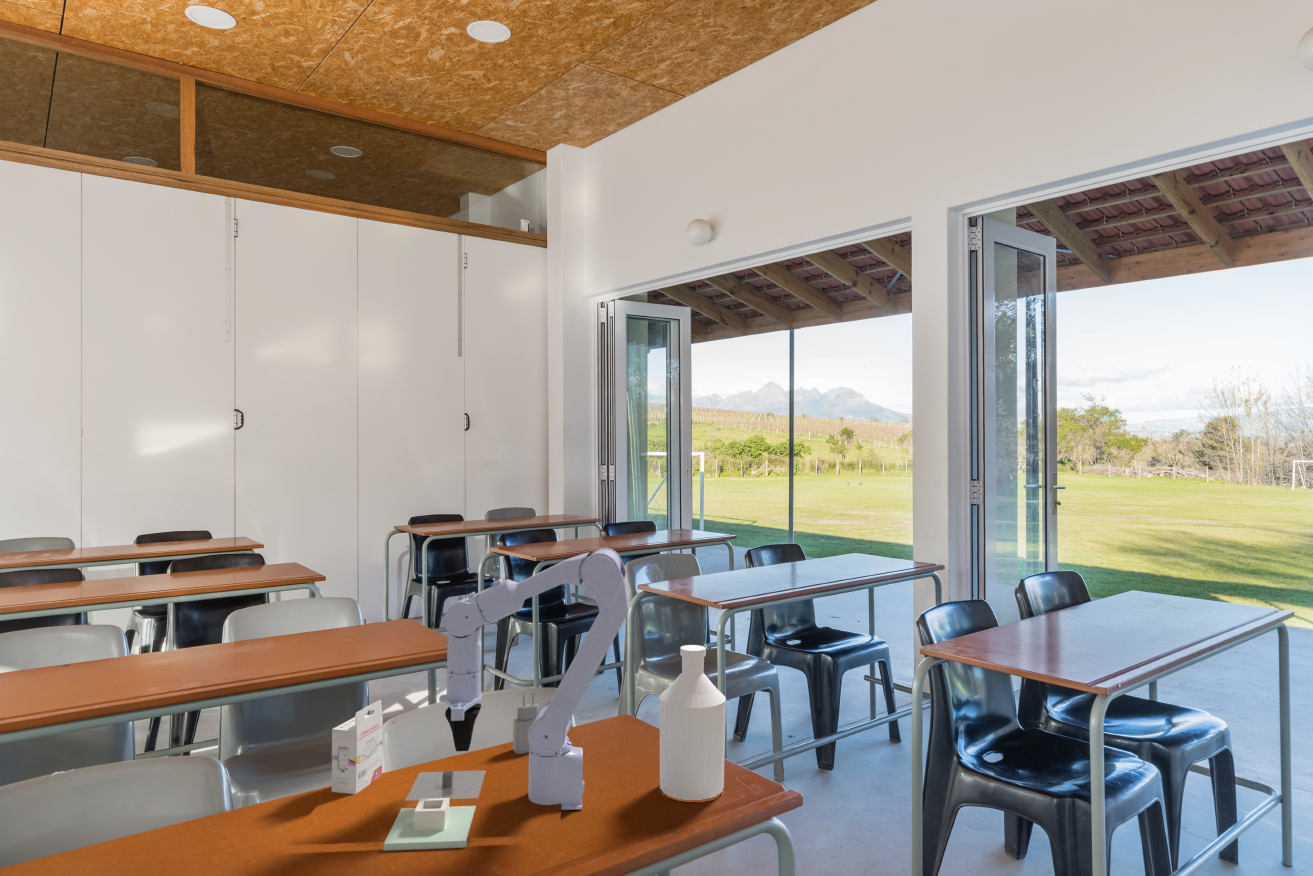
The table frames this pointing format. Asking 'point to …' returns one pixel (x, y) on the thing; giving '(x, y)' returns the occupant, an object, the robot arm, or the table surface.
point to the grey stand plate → (455, 792)
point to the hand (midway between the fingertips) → (462, 749)
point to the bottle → (692, 732)
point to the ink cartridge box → (357, 751)
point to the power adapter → (523, 725)
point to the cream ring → (431, 814)
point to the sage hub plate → (451, 837)
